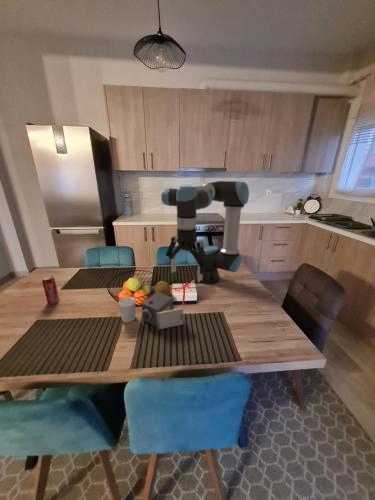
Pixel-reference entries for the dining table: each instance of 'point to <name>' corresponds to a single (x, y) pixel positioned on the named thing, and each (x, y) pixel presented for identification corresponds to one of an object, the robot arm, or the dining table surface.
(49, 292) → the beverage can
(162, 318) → the side door
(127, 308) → the white cup
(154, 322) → the camera body
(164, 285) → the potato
